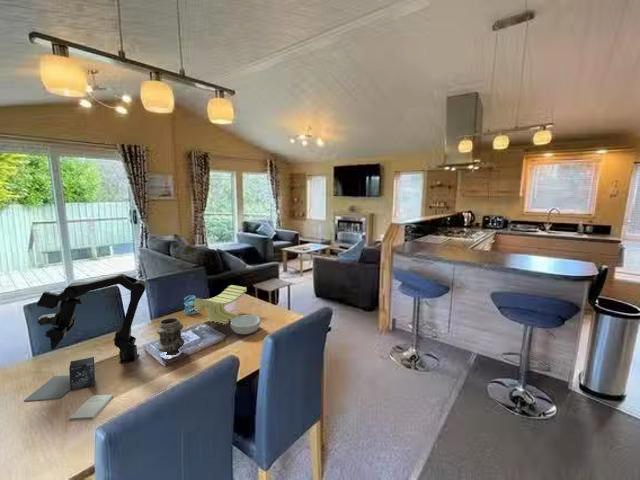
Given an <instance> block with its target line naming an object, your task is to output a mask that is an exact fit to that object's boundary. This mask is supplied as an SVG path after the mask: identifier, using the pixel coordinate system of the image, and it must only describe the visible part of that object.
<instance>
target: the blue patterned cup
mask: <svg viewBox="0 0 640 480" xmlns="http://www.w3.org/2000/svg"><path fill="white" fill-rule="evenodd" d="M196 298H197V297H196V296H195V295H193V294H191V295H187V296H185V297H184V298H183V299H184V302H183V305H184V311H183V314H184V315H185V316H188V315H189V316H190V314H191V315H196V313H197V314H200V310H196V309H194V308H192V307H193V306H194V300H195V299H196ZM191 308H192V309H191ZM193 310H194V311H193ZM191 311H192V312H191ZM196 311H197V312H196Z"/></svg>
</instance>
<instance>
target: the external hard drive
mask: <svg viewBox="0 0 640 480" xmlns="http://www.w3.org/2000/svg"><path fill="white" fill-rule="evenodd" d="M113 398H114V394H98V395H95V394H94V395H91V396H90V397H89V398H88V399H87V400H86V401H85V402H84V403H83V404H82V405H81V406H80V407H79V408H78V409H77V410H76V411H75V412H73V414H72V415H71V416H70V417H69V418H68V421H69V422H71V421H72V422H73V421H75V422H76V421H87V420H94V419H95V418H96V417H97V416H98V415H99V414H100V413H101V411H103V410H104V408H106V405H108V403H109V402H111V400H112V399H113Z"/></svg>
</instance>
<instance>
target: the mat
mask: <svg viewBox="0 0 640 480" xmlns="http://www.w3.org/2000/svg"><path fill="white" fill-rule="evenodd" d="M70 391H71V390H70V374H68V375H54V376H52V377H51V378H50V379H49V380H47V381H46V382H45V383H43V384H42V385H41V386H39V388H37V389H36V390H35V391H33V392H32V393H31V394H30V395H28V396H27V397H26V398H25V399H24V400H23V402H35V401H38V402H39V401H47V400H48V401H49V400H61V399H62V398H63V397H64V396H65V395H67V394H68V392H70Z"/></svg>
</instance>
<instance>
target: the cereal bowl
mask: <svg viewBox="0 0 640 480" xmlns="http://www.w3.org/2000/svg"><path fill="white" fill-rule="evenodd" d="M260 325H261V318H260V317H259V316H257V315H254V314H243V315H238V317H235V318H234V319H232V320H231V322H230V328H231V329H232V331H233V332H234V333H236V334H238V335H239V334H240V335H243V336H244V335H245V336H246V335H250V334H252V333H254V332H256V331H257V330H258V329H259V328H260Z"/></svg>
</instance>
